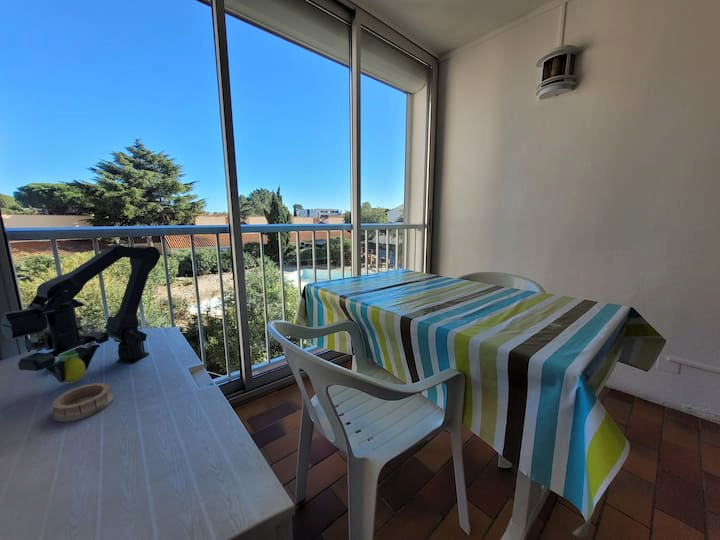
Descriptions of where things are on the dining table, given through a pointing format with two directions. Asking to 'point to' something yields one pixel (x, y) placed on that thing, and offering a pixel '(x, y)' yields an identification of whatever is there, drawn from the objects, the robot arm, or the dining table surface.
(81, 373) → the lemon
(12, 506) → the dining table surface
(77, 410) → the wooden bowl
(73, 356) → the ramekin
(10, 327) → the robot arm
